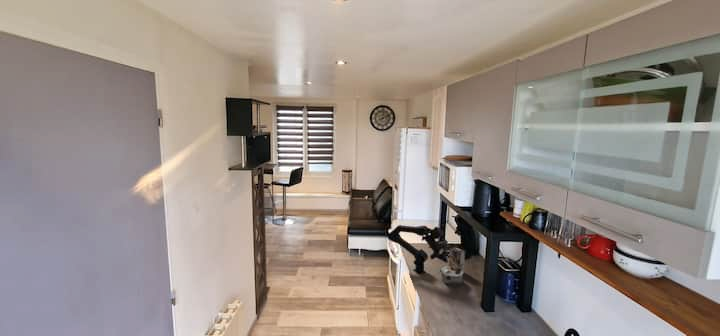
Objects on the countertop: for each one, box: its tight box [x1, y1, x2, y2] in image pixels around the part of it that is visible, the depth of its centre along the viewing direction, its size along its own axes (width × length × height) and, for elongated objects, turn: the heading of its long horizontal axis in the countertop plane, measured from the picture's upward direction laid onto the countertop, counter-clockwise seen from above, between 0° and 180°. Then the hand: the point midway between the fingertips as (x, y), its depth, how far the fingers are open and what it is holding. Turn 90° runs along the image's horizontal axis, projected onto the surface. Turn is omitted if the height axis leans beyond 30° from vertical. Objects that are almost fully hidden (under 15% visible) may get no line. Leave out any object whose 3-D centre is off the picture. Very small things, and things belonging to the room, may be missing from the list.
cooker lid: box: [441, 265, 464, 277], centre depth 192 cm, size 14×14×2 cm
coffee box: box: [448, 246, 466, 274], centre depth 205 cm, size 9×6×16 cm
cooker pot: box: [439, 268, 464, 288], centre depth 193 cm, size 14×17×6 cm
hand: (447, 262), depth 193 cm, fingers closed
